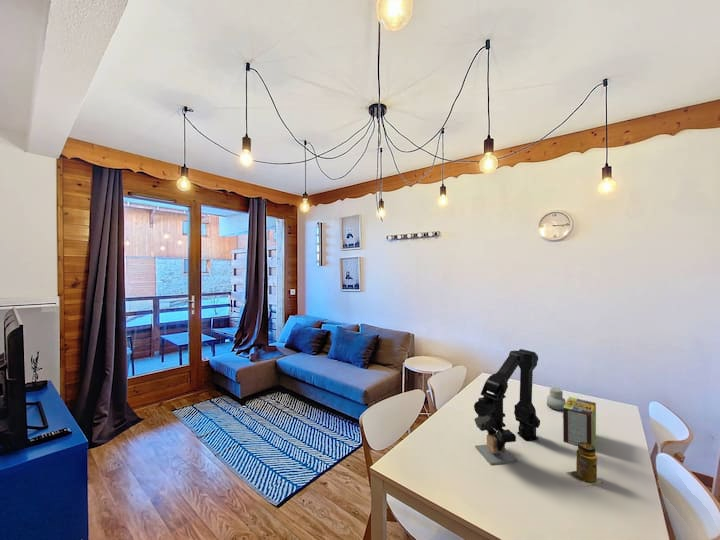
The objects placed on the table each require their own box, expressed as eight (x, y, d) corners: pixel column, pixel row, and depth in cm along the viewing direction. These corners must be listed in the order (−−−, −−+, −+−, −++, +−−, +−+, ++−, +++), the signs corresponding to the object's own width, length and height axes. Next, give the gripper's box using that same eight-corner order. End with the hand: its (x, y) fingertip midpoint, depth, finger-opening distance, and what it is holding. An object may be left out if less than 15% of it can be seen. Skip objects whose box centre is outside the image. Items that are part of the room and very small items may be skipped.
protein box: (596, 436, 140) (596, 402, 140) (591, 451, 129) (591, 414, 129) (568, 428, 147) (568, 396, 147) (562, 441, 136) (562, 406, 136)
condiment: (603, 482, 110) (603, 449, 110) (584, 486, 108) (584, 453, 108) (584, 469, 117) (584, 438, 117) (566, 473, 115) (565, 441, 115)
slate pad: (500, 444, 134) (500, 443, 134) (518, 461, 122) (518, 460, 122) (474, 446, 132) (474, 445, 132) (490, 464, 121) (490, 463, 121)
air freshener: (548, 402, 176) (548, 384, 175) (565, 406, 171) (565, 388, 171) (546, 409, 167) (546, 391, 167) (564, 413, 162) (564, 394, 162)
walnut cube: (497, 445, 130) (497, 433, 130) (504, 452, 125) (504, 440, 125) (486, 446, 129) (486, 434, 129) (493, 453, 125) (493, 441, 124)
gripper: (466, 401, 135) (466, 436, 135) (489, 422, 117) (490, 463, 117) (490, 399, 137) (490, 434, 137) (516, 420, 118) (516, 460, 118)
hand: (495, 446), depth 127 cm, fingers closed on walnut cube, 5 cm apart
